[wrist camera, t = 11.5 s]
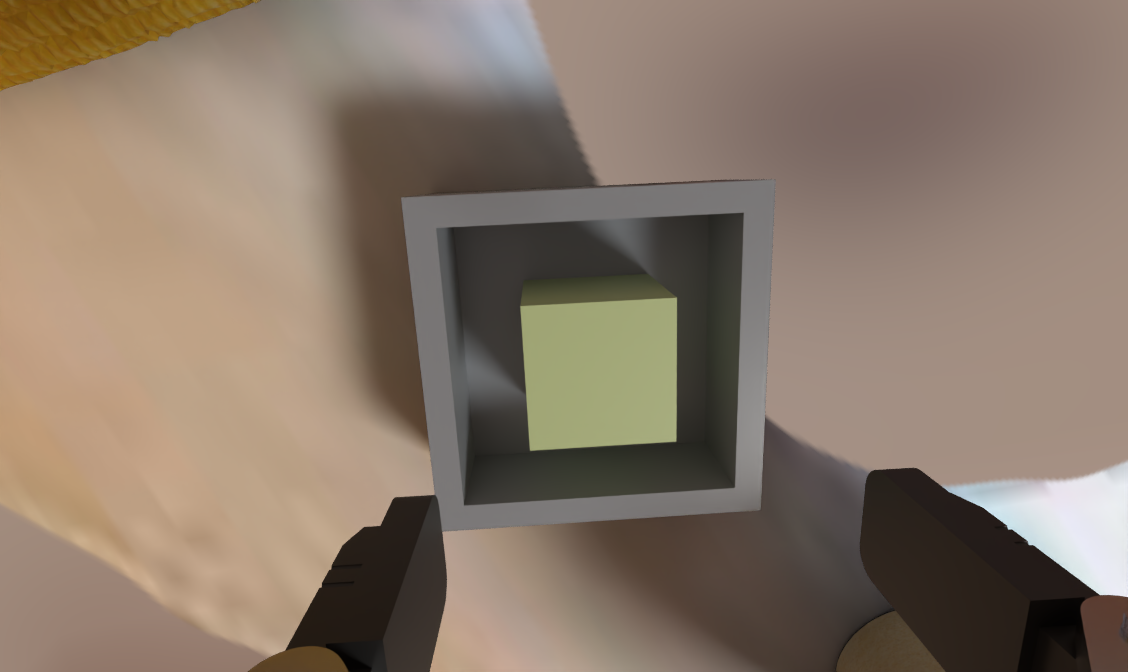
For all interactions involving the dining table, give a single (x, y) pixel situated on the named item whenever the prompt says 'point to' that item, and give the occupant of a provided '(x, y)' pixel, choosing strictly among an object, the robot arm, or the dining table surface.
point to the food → (88, 30)
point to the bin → (496, 360)
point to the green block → (599, 361)
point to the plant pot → (886, 649)
